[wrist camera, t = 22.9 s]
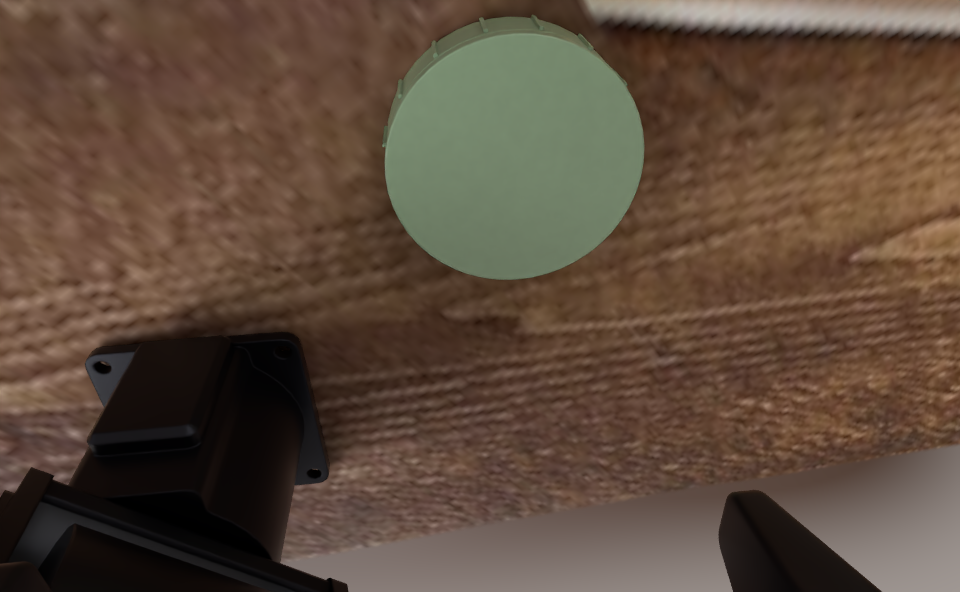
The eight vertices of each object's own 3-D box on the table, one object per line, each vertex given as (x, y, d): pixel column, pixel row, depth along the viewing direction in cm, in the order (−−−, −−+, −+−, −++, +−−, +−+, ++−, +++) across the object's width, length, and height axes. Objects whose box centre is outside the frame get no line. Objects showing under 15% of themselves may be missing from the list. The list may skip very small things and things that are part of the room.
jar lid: (397, 254, 20) (396, 289, 19) (372, 20, 17) (368, 39, 15) (615, 240, 21) (632, 273, 19) (637, 9, 17) (660, 25, 15)
